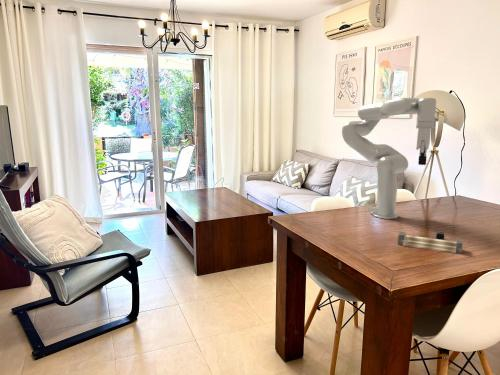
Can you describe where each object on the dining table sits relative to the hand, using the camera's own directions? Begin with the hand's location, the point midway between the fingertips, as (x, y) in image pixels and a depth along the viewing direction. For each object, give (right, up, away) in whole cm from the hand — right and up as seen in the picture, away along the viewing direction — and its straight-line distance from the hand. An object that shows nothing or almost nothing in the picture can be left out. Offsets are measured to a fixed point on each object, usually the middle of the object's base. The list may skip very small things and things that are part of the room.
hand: (422, 164), depth 177 cm
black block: (-2, -34, -20) cm, 40 cm away
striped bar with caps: (-9, -35, -26) cm, 44 cm away
